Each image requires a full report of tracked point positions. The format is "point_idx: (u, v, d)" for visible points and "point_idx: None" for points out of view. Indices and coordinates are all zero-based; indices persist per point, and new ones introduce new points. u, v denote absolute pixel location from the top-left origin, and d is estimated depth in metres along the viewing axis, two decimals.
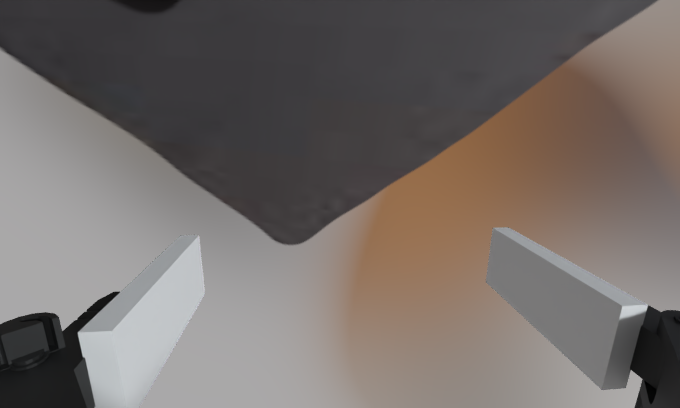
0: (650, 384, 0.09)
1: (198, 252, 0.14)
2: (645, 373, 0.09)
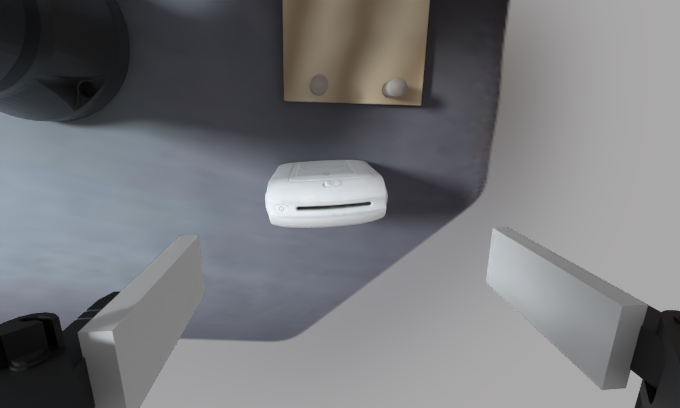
0: (650, 384, 0.09)
1: (198, 252, 0.14)
2: (645, 373, 0.09)
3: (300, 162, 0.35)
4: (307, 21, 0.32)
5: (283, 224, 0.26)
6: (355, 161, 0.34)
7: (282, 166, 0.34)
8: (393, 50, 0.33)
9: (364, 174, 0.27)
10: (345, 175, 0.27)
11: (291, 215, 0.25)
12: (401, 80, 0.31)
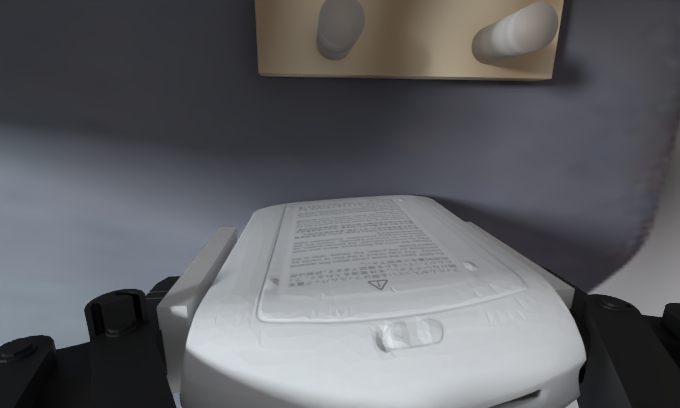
0: None
1: None
2: None
3: (298, 206, 0.16)
4: None
5: None
6: (416, 202, 0.16)
7: (259, 218, 0.15)
8: None
9: (499, 280, 0.09)
10: (443, 289, 0.08)
11: None
12: (545, 9, 0.12)
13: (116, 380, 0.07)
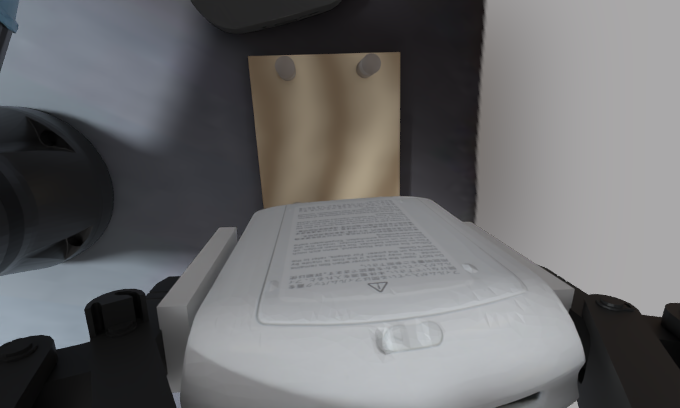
0: None
1: (236, 243, 0.15)
2: None
3: (298, 207, 0.16)
4: (281, 152, 0.33)
5: None
6: (416, 203, 0.16)
7: (259, 219, 0.15)
8: (368, 169, 0.34)
9: (498, 282, 0.09)
10: (442, 291, 0.08)
11: None
12: None
13: (116, 380, 0.07)
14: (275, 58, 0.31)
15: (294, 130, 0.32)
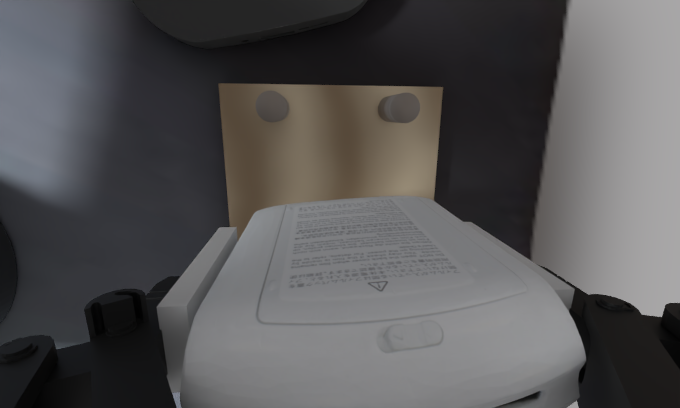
0: None
1: (236, 243, 0.15)
2: None
3: (298, 206, 0.16)
4: None
5: None
6: (416, 203, 0.16)
7: (259, 219, 0.15)
8: None
9: (498, 281, 0.09)
10: (443, 290, 0.08)
11: None
12: None
13: (116, 380, 0.07)
14: (259, 88, 0.21)
15: (284, 190, 0.22)
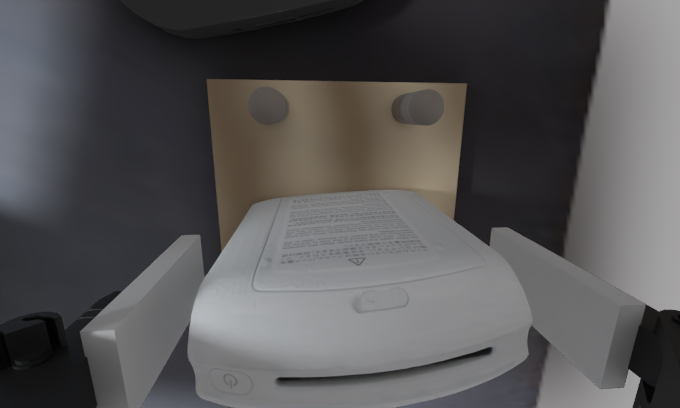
0: (647, 383, 0.09)
1: (199, 252, 0.14)
2: (643, 372, 0.09)
3: (293, 199, 0.18)
4: None
5: None
6: (401, 195, 0.17)
7: (256, 210, 0.17)
8: None
9: (461, 257, 0.10)
10: (412, 264, 0.10)
11: (260, 402, 0.08)
12: None
13: None
14: (254, 84, 0.18)
15: None
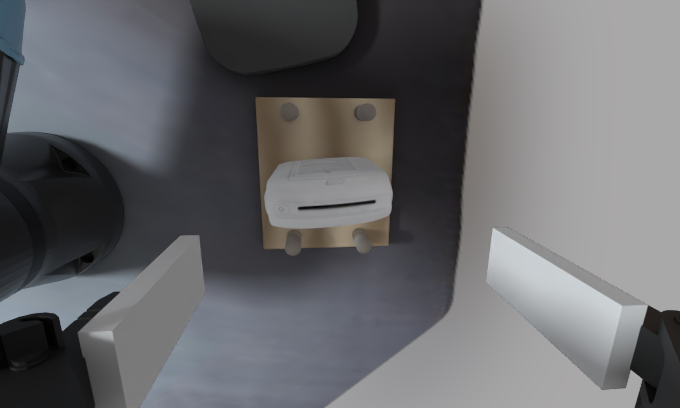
0: (650, 384, 0.09)
1: (198, 252, 0.14)
2: (645, 373, 0.09)
3: (300, 160, 0.33)
4: None
5: (284, 225, 0.25)
6: (357, 158, 0.33)
7: (282, 165, 0.32)
8: None
9: (368, 171, 0.26)
10: (348, 172, 0.25)
11: (292, 216, 0.24)
12: (366, 241, 0.34)
13: None
14: (280, 100, 0.33)
15: None
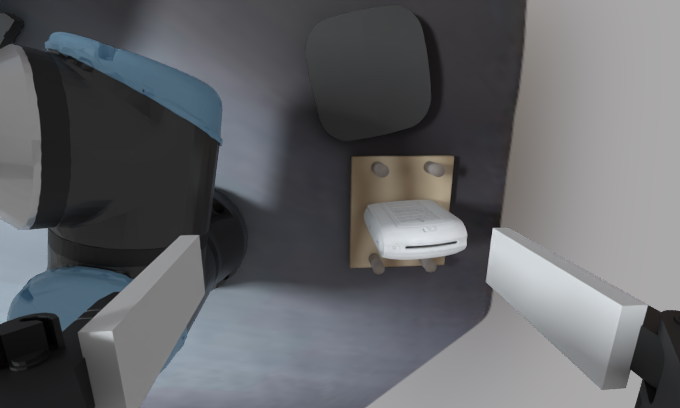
0: (650, 384, 0.09)
1: (198, 252, 0.14)
2: (645, 373, 0.09)
3: (385, 203, 0.45)
4: None
5: (393, 258, 0.37)
6: (428, 202, 0.45)
7: (373, 208, 0.44)
8: None
9: (449, 220, 0.37)
10: (436, 221, 0.37)
11: (401, 252, 0.36)
12: (432, 263, 0.46)
13: None
14: (370, 158, 0.45)
15: None
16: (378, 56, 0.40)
